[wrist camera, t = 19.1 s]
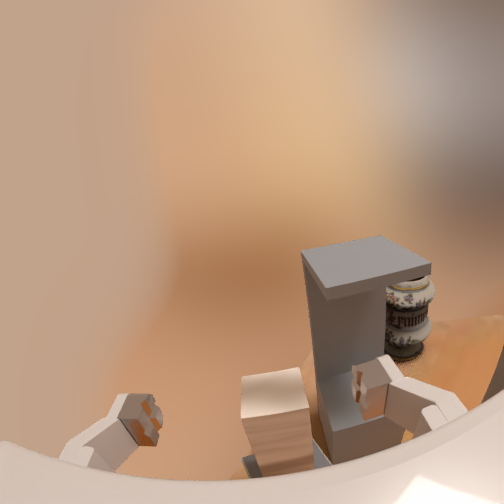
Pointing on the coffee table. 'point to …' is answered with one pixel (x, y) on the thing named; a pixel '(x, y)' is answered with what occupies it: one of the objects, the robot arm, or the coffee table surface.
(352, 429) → the grey podium
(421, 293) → the apothecary jar
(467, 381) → the coffee table surface
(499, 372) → the hard drive box
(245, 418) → the block
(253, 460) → the stand
